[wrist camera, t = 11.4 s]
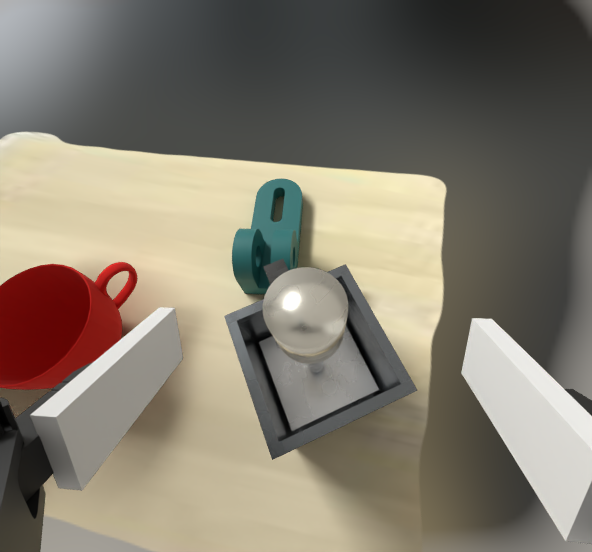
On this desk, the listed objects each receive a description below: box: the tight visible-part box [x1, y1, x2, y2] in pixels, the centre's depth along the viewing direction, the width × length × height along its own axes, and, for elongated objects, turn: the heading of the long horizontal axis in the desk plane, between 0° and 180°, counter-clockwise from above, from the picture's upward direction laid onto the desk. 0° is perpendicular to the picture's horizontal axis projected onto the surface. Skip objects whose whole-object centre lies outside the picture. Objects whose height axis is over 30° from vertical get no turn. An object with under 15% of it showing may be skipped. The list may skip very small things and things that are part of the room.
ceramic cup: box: [0, 262, 137, 390], centre depth 36 cm, size 13×17×10 cm
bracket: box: [232, 179, 303, 294], centre depth 41 cm, size 18×7×8 cm, turn 175°
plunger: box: [259, 267, 379, 431], centre depth 22 cm, size 9×9×17 cm
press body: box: [225, 259, 417, 460], centre depth 31 cm, size 15×11×14 cm
